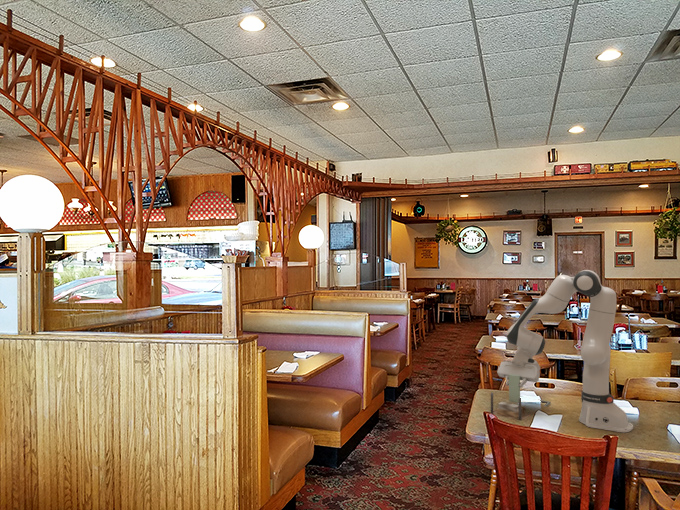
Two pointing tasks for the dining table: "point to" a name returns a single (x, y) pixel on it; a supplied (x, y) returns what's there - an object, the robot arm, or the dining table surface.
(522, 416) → the rack
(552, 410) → the dining table surface
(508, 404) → the offcut upper
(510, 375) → the grey-green rectangular block
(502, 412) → the offcut lower
